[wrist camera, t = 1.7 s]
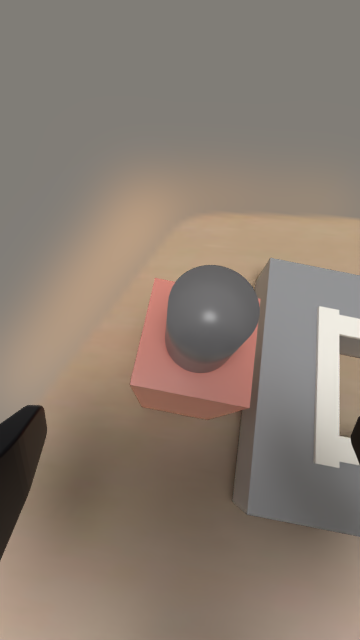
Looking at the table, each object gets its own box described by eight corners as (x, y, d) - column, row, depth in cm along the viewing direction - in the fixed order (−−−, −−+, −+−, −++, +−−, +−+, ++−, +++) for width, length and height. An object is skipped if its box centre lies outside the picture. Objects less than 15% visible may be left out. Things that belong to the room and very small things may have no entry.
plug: (207, 419, 19) (285, 398, 7) (142, 406, 19) (119, 365, 7) (216, 355, 20) (293, 255, 9) (155, 343, 20) (154, 227, 9)
